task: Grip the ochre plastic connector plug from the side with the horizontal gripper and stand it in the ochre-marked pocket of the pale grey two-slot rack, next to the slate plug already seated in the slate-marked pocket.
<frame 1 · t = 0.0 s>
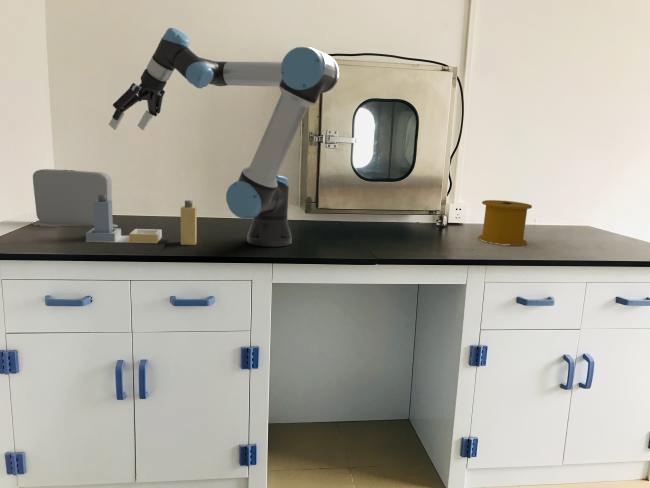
hand: (126, 127, 176), 36 cm above the worktop, tool tilted 35°, fingers open, 13 cm apart
grey upright panel: (74, 226, 191), on the worktop
ochre plug: (188, 243, 172), on the worktop
slate plug: (104, 238, 168), point 1 cm above the worktop, touching slot rack
slot rack: (125, 241, 169), on the worktop
spool: (501, 241, 203), on the worktop
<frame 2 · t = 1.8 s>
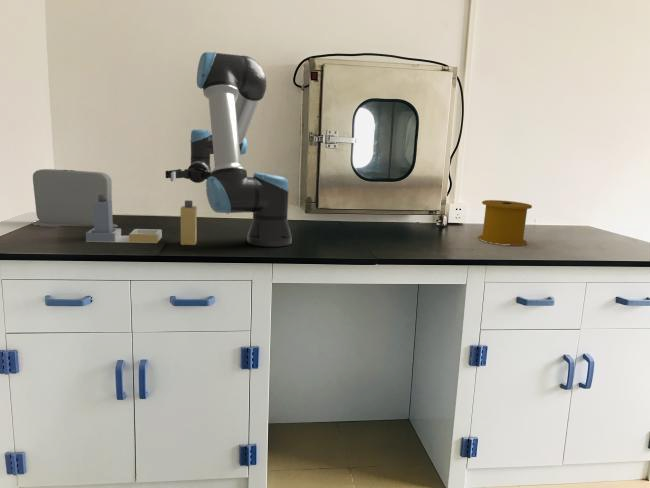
hand: (192, 178, 180), 20 cm above the worktop, tool horizontal, fingers open, 13 cm apart
nothing on the worktop moved.
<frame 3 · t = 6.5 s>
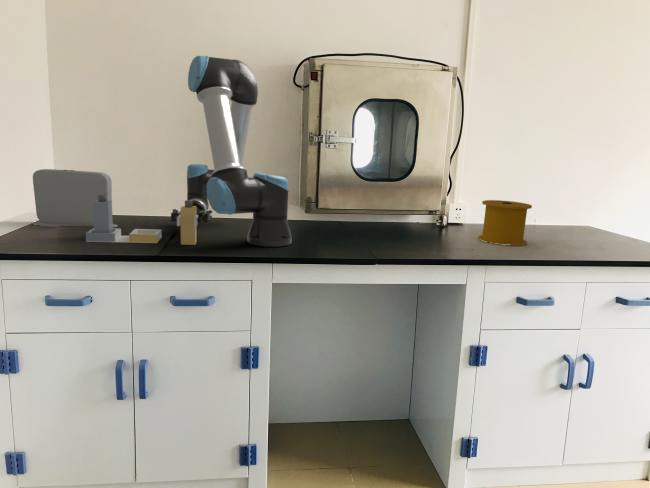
hand: (186, 222, 165), 8 cm above the worktop, tool horizontal, fingers closed on ochre plug, 4 cm apart
ochre plug: (188, 243, 172), on the worktop, touching gripper
everything else where it was.
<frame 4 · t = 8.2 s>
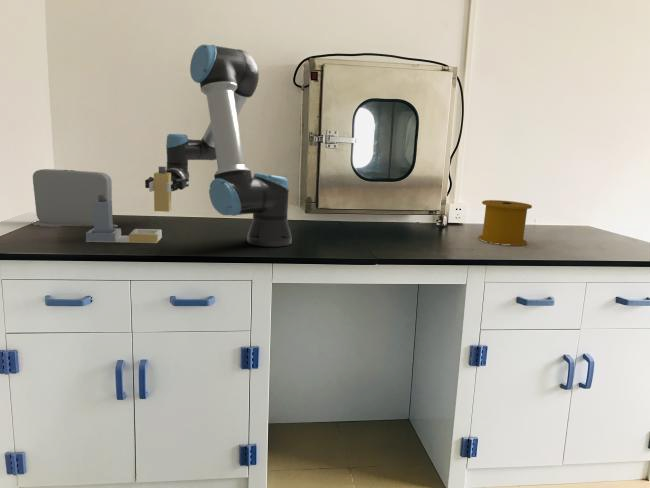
hand: (159, 187, 163), 18 cm above the worktop, tool horizontal, fingers closed on ochre plug, 4 cm apart
ochre plug: (162, 210, 170), point 10 cm above the worktop, touching gripper
everything else where it was.
when the fingers open (10 cm above the worktop, at t = 10.3 s): ochre plug stays where it is, resting on slot rack.
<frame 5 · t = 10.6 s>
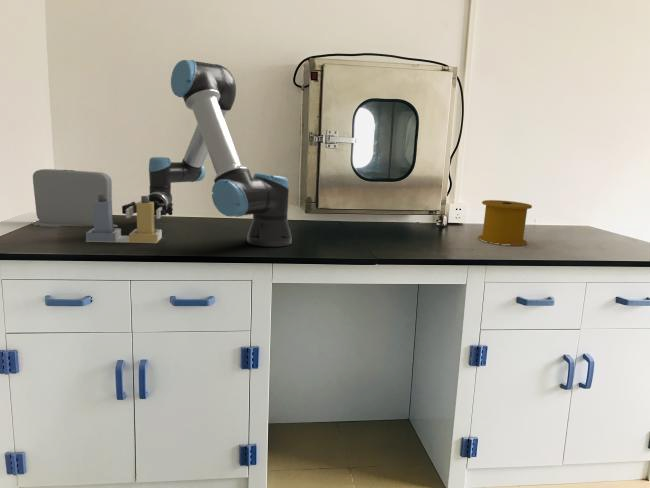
hand: (142, 214, 164), 10 cm above the worktop, tool horizontal, fingers open, 8 cm apart
ochre plug: (146, 239, 170), point 1 cm above the worktop, touching slot rack
everything else where it was.
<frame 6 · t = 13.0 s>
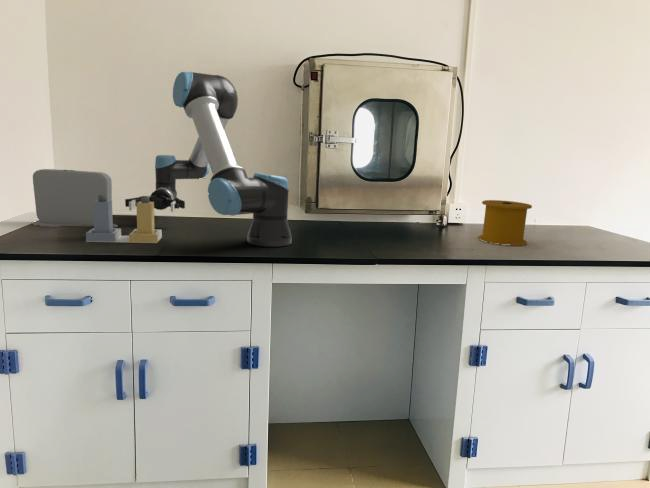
hand: (151, 207, 177), 10 cm above the worktop, tool horizontal, fingers open, 13 cm apart
nothing on the worktop moved.
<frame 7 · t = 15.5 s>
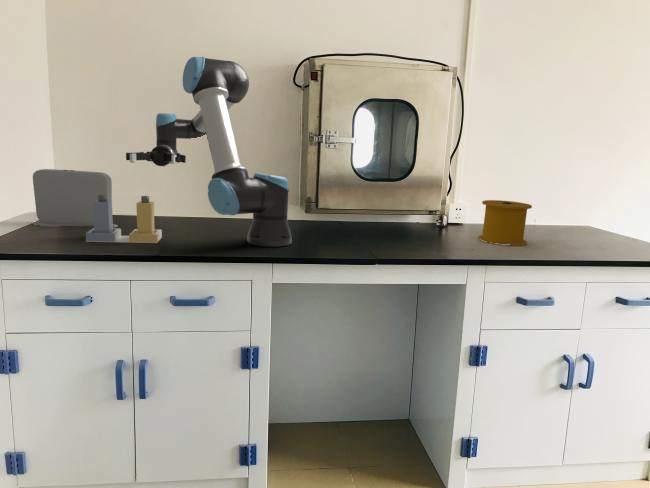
hand: (151, 159, 177), 26 cm above the worktop, tool horizontal, fingers open, 13 cm apart
nothing on the worktop moved.
at the end: ochre plug 0.1 cm from the target spot on the slot rack, point 1.0 cm above the slot rack's base; ochre plug tilted 0°; slate plug moved 0.0 cm from its start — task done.
